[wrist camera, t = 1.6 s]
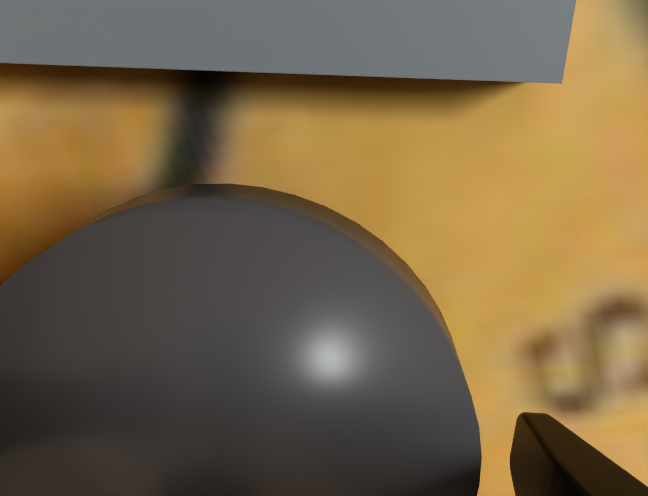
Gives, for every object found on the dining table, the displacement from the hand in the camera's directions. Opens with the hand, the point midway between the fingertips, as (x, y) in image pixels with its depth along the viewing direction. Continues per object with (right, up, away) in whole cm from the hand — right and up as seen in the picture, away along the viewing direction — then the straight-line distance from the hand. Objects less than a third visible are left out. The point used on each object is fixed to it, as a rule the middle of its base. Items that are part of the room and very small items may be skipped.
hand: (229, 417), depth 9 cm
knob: (0, +1, +4) cm, 4 cm away
